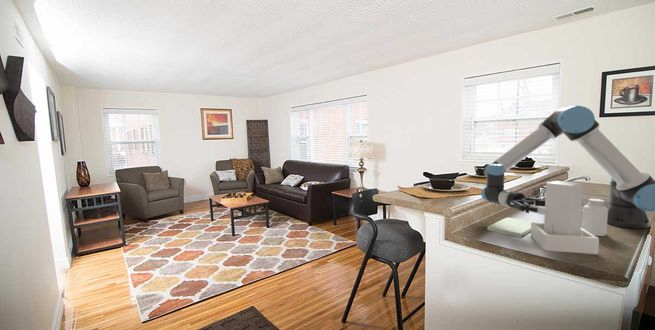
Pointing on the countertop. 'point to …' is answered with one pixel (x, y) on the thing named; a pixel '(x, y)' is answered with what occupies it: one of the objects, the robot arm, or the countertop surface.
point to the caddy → (565, 241)
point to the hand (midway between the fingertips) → (559, 209)
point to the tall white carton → (563, 208)
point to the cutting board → (512, 226)
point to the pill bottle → (595, 217)
